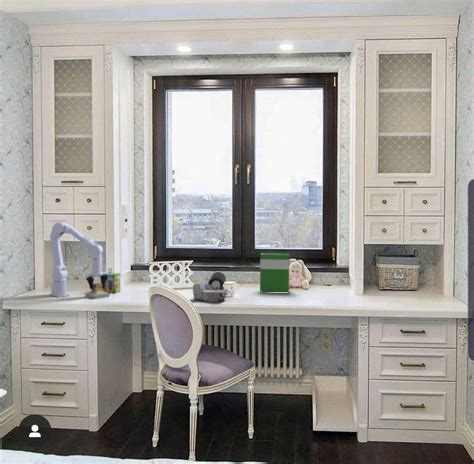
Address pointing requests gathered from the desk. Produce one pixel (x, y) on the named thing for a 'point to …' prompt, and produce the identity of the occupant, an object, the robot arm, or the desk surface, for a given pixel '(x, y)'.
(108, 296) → the dock
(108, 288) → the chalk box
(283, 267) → the hardback book
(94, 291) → the tan cardboard carton
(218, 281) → the portable speaker
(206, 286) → the cell model
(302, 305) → the desk surface
